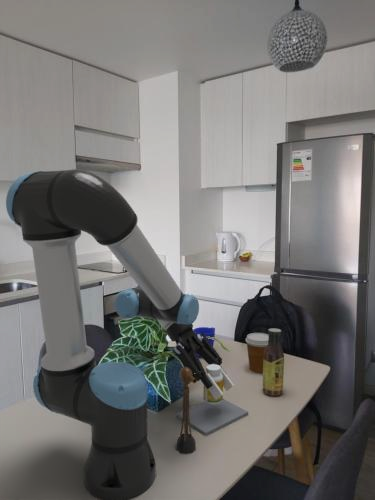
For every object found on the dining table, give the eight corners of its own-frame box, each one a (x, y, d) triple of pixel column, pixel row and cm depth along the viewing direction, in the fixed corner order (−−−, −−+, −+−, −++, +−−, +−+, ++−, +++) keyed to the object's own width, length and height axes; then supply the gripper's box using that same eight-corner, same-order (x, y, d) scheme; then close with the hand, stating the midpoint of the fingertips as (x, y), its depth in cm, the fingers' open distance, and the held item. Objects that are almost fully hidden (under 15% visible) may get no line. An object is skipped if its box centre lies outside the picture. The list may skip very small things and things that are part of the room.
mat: (205, 435, 99) (205, 432, 99) (176, 416, 109) (176, 413, 109) (248, 414, 110) (248, 411, 110) (217, 398, 119) (217, 396, 119)
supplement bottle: (199, 399, 110) (199, 366, 108) (213, 393, 113) (213, 361, 112) (212, 407, 105) (212, 372, 104) (227, 400, 109) (227, 367, 108)
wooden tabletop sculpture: (202, 451, 93) (202, 370, 91) (186, 458, 91) (186, 374, 88) (188, 439, 98) (188, 361, 96) (172, 445, 95) (172, 366, 93)
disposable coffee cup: (239, 366, 142) (240, 334, 141) (261, 362, 146) (262, 331, 145) (255, 377, 134) (255, 342, 132) (277, 372, 138) (278, 338, 136)
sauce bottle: (277, 399, 119) (279, 334, 116) (258, 393, 122) (260, 330, 120) (286, 391, 124) (288, 329, 122) (268, 385, 127) (269, 325, 125)
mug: (222, 351, 158) (222, 326, 157) (207, 361, 148) (208, 335, 147) (204, 347, 162) (204, 323, 161) (189, 356, 152) (189, 331, 151)
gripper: (185, 322, 123) (232, 386, 116) (148, 339, 108) (198, 413, 101) (200, 308, 120) (248, 373, 112) (163, 323, 105) (216, 399, 97)
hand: (225, 392), depth 107 cm, fingers closed on supplement bottle, 5 cm apart
